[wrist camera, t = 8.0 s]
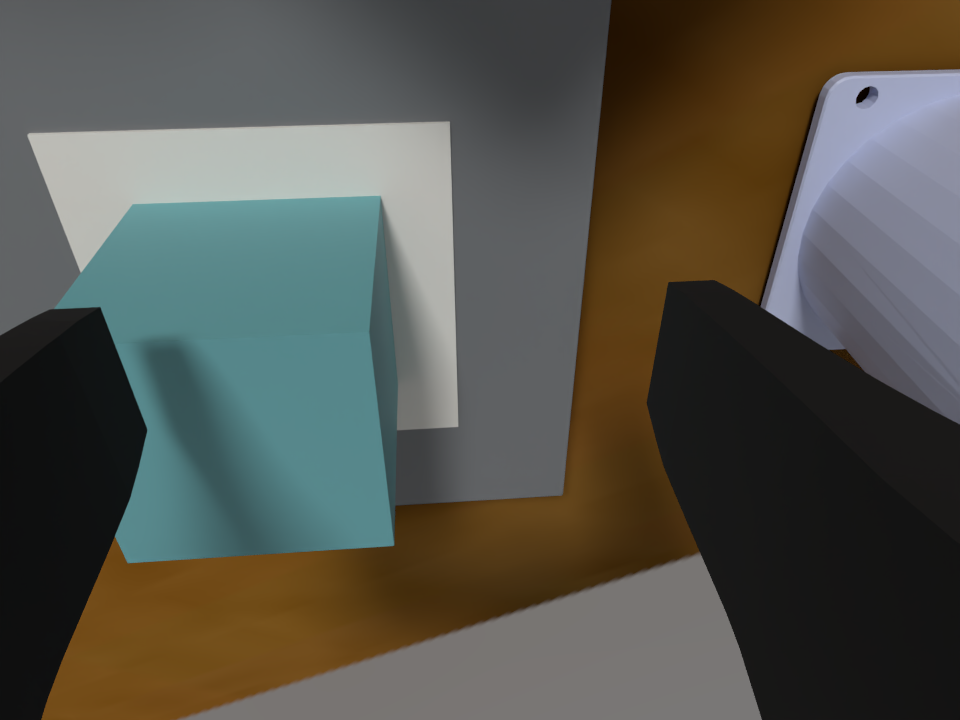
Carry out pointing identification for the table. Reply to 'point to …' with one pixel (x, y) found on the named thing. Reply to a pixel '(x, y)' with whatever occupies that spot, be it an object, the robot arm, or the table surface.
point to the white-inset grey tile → (340, 180)
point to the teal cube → (253, 374)
